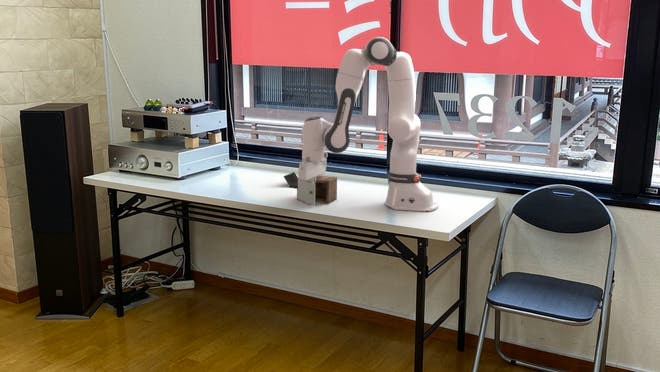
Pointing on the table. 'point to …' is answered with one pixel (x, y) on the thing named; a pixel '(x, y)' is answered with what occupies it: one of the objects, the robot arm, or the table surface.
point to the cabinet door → (306, 192)
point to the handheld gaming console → (291, 180)
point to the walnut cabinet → (324, 189)
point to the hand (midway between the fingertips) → (311, 187)
